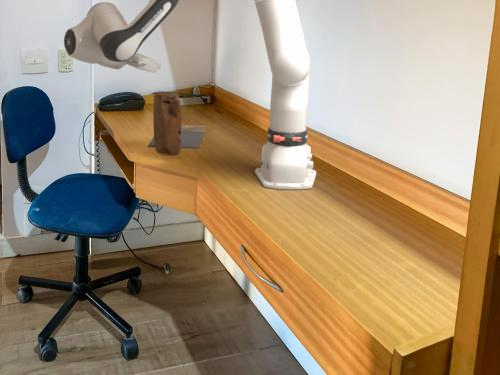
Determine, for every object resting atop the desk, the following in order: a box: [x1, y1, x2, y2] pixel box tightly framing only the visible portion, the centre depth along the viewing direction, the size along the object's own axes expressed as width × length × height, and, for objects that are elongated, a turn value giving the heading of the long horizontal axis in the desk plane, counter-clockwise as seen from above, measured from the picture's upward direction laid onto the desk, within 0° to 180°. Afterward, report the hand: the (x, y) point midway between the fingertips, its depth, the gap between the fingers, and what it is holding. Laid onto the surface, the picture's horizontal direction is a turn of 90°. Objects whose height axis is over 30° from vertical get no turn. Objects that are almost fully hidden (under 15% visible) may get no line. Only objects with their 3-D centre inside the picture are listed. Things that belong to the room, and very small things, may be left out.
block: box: [153, 92, 183, 156], centre depth 203 cm, size 11×8×20 cm
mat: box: [147, 131, 205, 149], centre depth 222 cm, size 24×18×1 cm
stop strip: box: [181, 124, 206, 133], centre depth 235 cm, size 2×18×2 cm, turn 90°
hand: (149, 62), depth 189 cm, fingers open, 8 cm apart
